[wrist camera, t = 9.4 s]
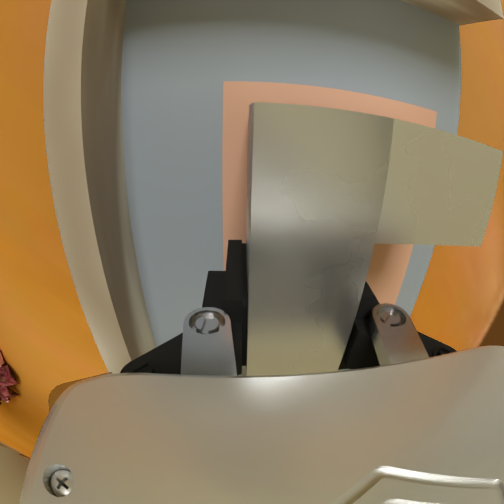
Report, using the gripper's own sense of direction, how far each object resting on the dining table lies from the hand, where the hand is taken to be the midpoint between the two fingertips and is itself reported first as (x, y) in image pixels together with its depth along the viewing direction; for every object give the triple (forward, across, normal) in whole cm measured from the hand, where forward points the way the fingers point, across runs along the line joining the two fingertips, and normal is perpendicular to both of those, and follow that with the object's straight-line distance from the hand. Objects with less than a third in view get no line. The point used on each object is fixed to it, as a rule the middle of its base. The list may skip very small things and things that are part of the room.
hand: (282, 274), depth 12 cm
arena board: (+2, 0, -2) cm, 3 cm away
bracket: (0, -2, -1) cm, 3 cm away
